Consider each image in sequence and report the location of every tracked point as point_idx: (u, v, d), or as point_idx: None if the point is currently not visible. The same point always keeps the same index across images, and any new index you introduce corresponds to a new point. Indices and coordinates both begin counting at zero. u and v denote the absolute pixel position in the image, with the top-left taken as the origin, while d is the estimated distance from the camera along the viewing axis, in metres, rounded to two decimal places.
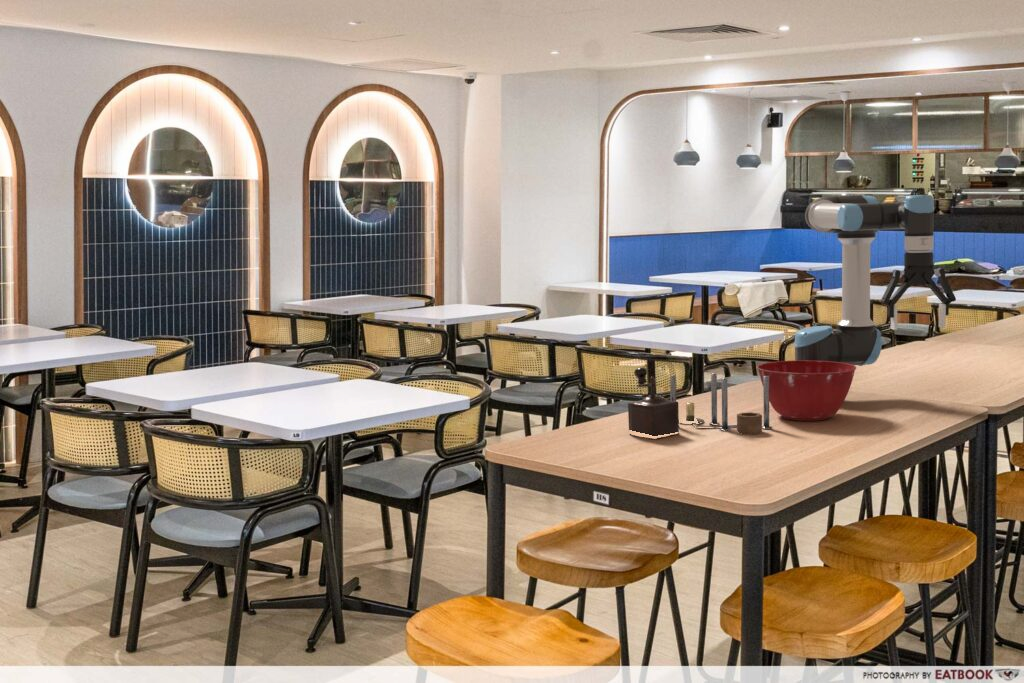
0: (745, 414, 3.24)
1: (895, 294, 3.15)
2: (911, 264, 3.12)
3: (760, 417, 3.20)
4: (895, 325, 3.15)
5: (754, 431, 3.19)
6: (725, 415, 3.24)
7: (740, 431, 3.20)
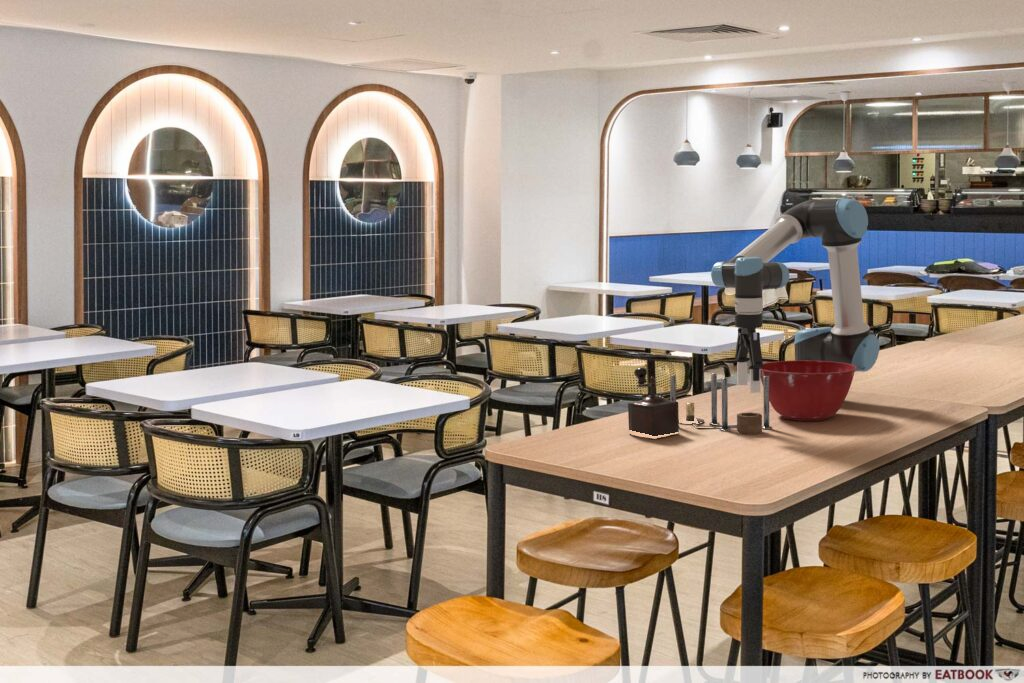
0: (745, 414, 3.24)
1: None
2: None
3: (760, 417, 3.20)
4: (737, 380, 3.27)
5: (754, 431, 3.19)
6: (725, 415, 3.24)
7: (740, 431, 3.20)
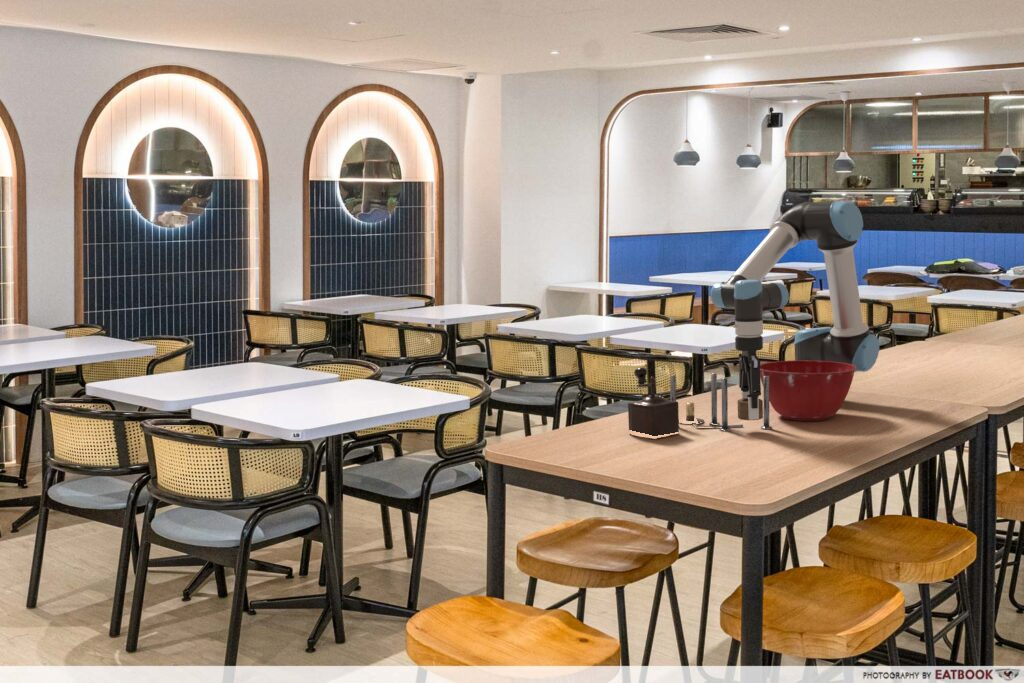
0: (746, 400, 3.23)
1: None
2: None
3: (761, 403, 3.20)
4: None
5: None
6: (725, 415, 3.24)
7: (741, 417, 3.20)
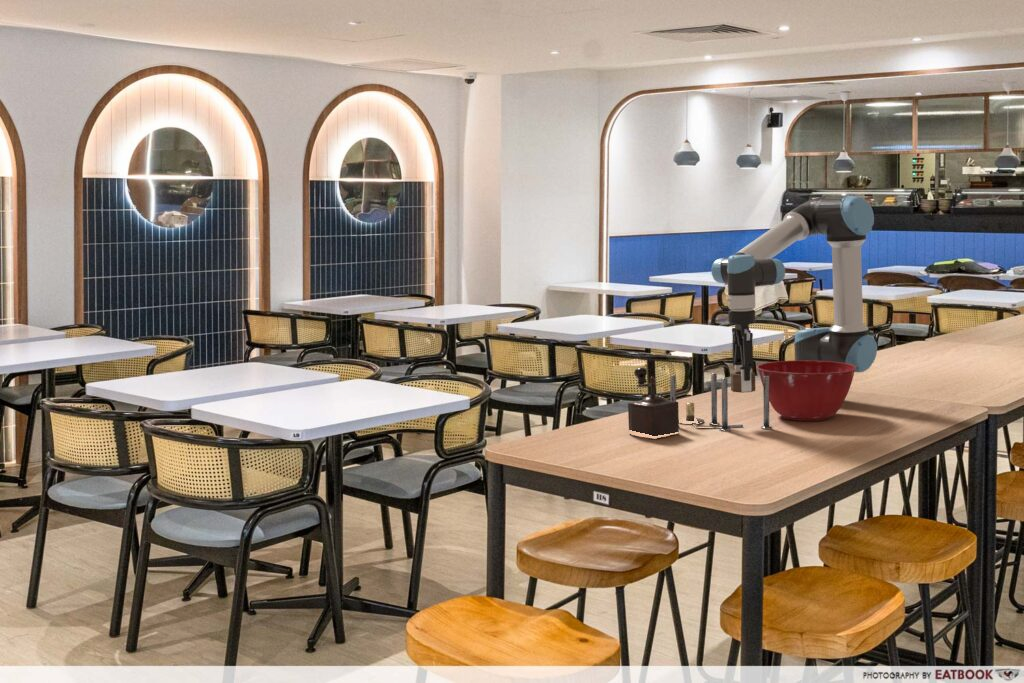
0: (739, 373, 3.30)
1: None
2: None
3: (753, 375, 3.26)
4: None
5: None
6: (725, 415, 3.24)
7: (734, 389, 3.27)
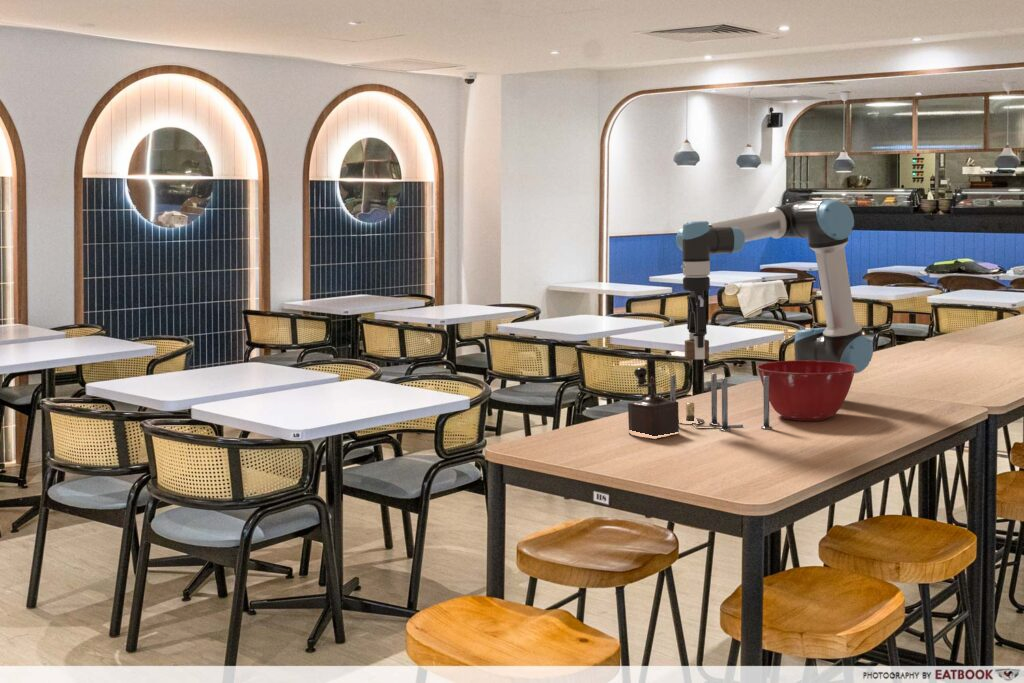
0: (693, 341, 3.28)
1: None
2: None
3: (707, 343, 3.24)
4: None
5: None
6: (725, 415, 3.24)
7: (687, 356, 3.24)
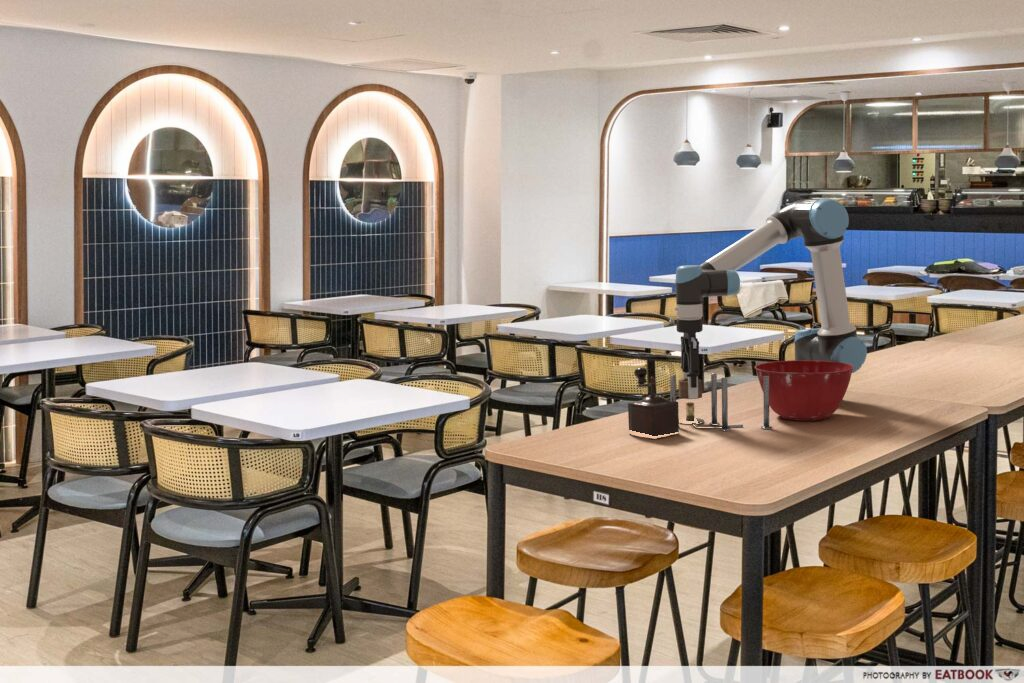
0: (686, 380, 3.39)
1: None
2: None
3: (700, 382, 3.35)
4: None
5: None
6: (725, 415, 3.24)
7: (681, 396, 3.36)
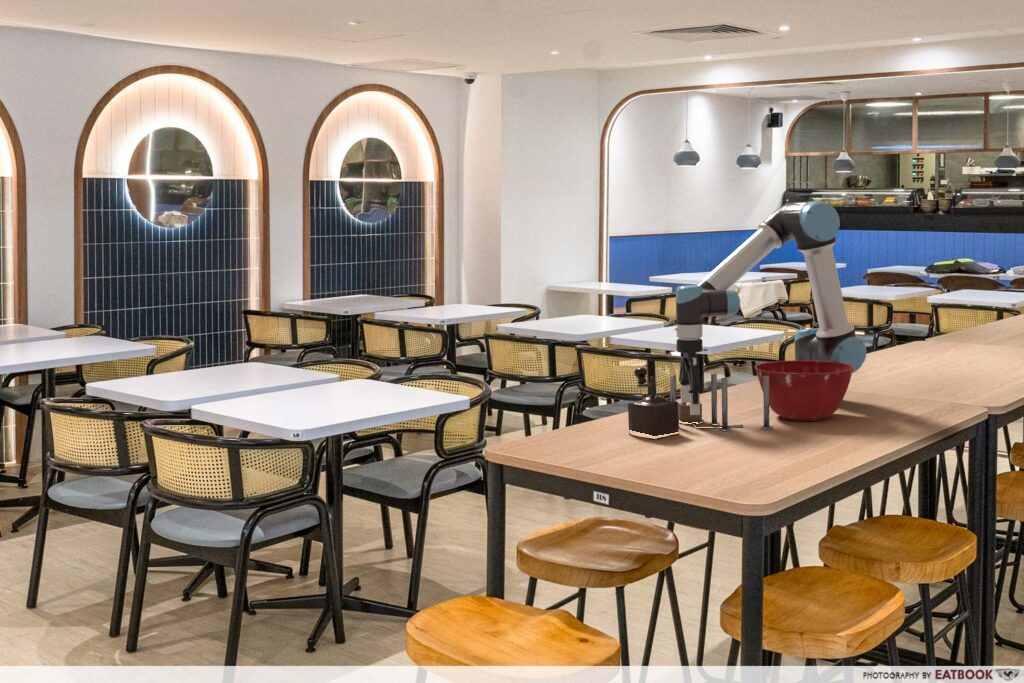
0: None
1: None
2: None
3: (700, 406, 3.36)
4: (681, 402, 3.44)
5: (694, 419, 3.35)
6: (725, 415, 3.24)
7: (681, 419, 3.37)
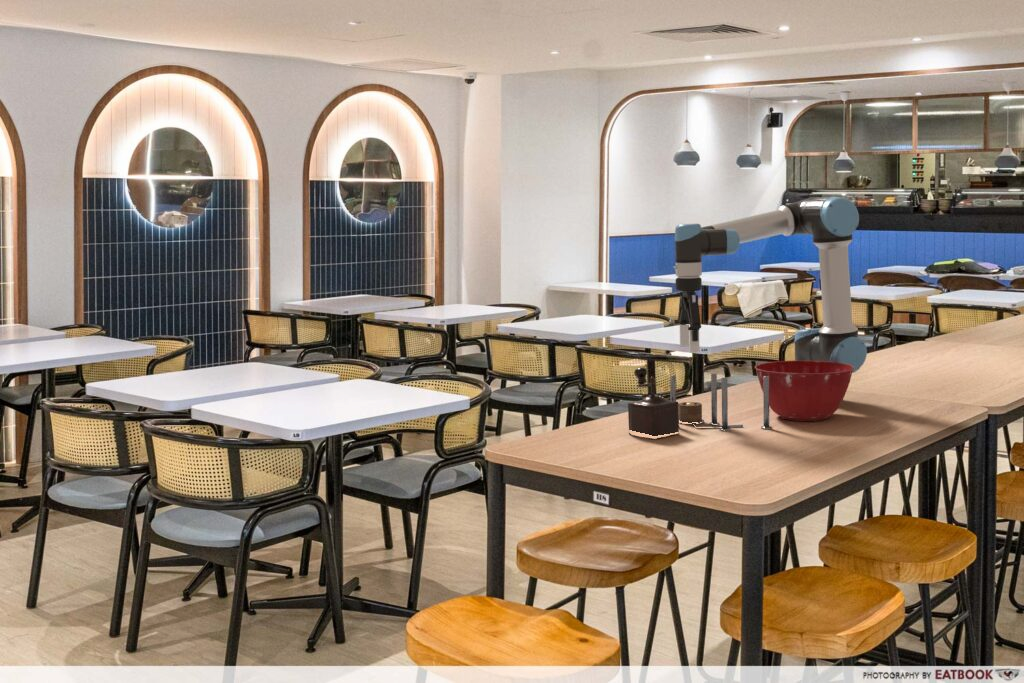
0: None
1: None
2: None
3: (700, 406, 3.36)
4: (680, 342, 3.43)
5: (694, 419, 3.35)
6: (725, 415, 3.24)
7: (681, 419, 3.37)
